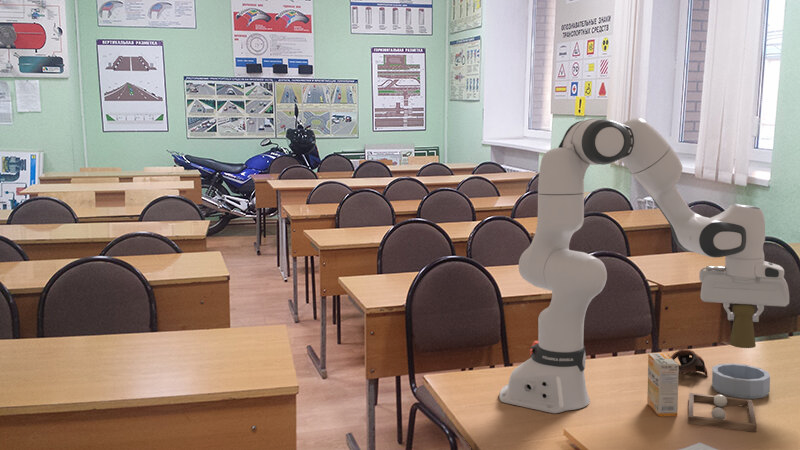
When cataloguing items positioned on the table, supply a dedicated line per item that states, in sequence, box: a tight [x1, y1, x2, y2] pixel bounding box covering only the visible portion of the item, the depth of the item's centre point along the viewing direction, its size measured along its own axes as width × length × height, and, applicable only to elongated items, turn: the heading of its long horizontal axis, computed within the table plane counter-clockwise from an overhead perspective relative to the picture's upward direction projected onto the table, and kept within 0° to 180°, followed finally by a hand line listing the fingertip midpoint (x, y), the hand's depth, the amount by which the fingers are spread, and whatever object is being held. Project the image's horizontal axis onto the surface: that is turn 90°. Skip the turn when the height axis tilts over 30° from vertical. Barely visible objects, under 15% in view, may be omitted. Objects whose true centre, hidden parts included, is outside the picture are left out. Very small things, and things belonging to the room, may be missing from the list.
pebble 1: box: [713, 393, 727, 408], centre depth 164 cm, size 3×3×3 cm
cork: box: [729, 304, 757, 349], centre depth 172 cm, size 6×6×11 cm
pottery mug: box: [670, 348, 709, 378], centre depth 187 cm, size 12×10×8 cm
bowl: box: [711, 362, 771, 400], centre depth 175 cm, size 13×13×5 cm
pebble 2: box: [710, 406, 727, 420], centre depth 156 cm, size 3×3×3 cm
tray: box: [687, 392, 758, 433], centre depth 160 cm, size 14×16×2 cm
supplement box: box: [646, 352, 680, 417], centre depth 163 cm, size 8×5×13 cm, turn 178°
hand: (742, 320), depth 172 cm, fingers closed on cork, 4 cm apart
